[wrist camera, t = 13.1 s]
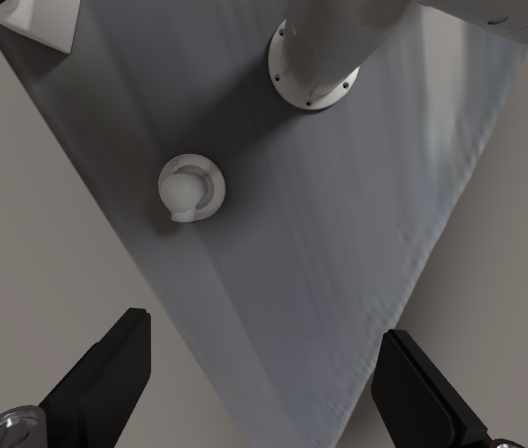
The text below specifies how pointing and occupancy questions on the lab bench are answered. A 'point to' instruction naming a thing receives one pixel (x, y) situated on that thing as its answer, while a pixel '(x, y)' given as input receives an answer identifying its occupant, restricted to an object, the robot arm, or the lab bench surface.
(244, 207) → the lab bench surface
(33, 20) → the medicine bottle
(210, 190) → the shallow grey dish
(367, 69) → the lab bench surface
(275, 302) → the lab bench surface
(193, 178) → the white light bulb
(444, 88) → the lab bench surface
